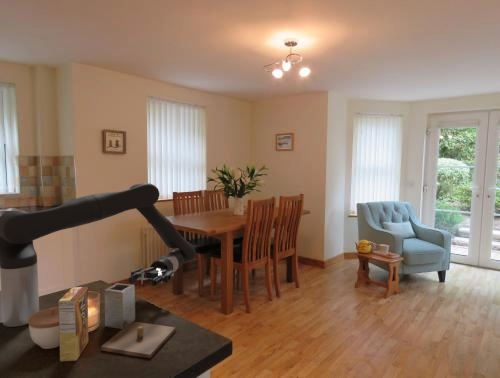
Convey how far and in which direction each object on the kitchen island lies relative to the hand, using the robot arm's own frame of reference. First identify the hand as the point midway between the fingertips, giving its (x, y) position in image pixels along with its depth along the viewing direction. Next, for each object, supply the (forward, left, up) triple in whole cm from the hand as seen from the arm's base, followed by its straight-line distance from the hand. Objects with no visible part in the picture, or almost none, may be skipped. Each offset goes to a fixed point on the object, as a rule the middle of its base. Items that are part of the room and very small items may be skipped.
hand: (141, 282), depth 110 cm
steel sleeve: (0, -11, -9) cm, 14 cm away
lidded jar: (-11, -25, -9) cm, 29 cm away
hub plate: (+11, -18, -9) cm, 23 cm away
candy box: (-2, -27, -9) cm, 29 cm away
